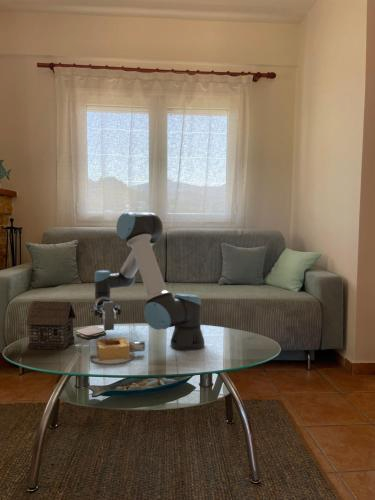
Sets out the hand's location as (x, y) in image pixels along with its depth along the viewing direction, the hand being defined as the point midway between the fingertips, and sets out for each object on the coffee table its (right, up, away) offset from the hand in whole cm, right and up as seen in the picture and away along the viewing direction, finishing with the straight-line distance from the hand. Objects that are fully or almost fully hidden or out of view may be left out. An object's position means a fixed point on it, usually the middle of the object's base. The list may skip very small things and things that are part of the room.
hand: (109, 315), depth 180 cm
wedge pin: (-1, -7, +6) cm, 9 cm away
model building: (-27, -15, +9) cm, 33 cm away
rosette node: (+4, -16, -7) cm, 18 cm away
